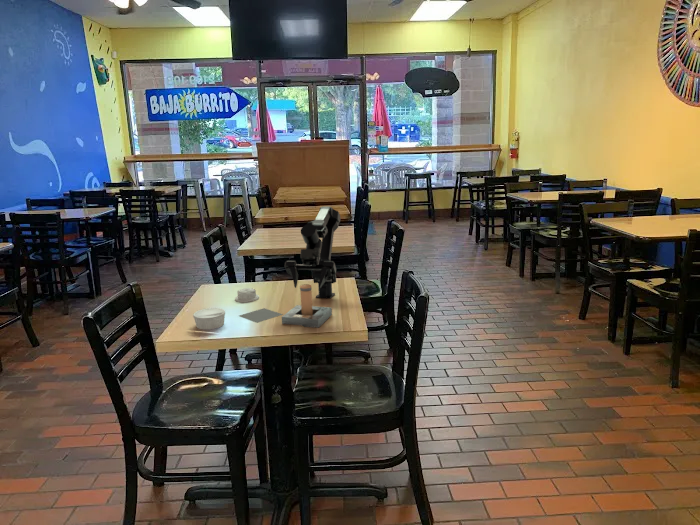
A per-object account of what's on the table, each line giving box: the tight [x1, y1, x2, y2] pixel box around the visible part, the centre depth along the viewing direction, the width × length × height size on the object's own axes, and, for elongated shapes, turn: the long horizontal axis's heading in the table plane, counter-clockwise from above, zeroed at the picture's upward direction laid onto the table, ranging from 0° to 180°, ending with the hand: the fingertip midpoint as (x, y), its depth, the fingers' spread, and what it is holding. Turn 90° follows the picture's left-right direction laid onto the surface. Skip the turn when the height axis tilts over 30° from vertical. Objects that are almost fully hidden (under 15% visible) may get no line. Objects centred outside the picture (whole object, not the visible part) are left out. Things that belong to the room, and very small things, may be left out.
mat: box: [238, 307, 284, 324], centre depth 201 cm, size 12×12×1 cm
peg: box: [299, 283, 313, 316], centre depth 194 cm, size 4×4×13 cm
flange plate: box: [281, 304, 333, 329], centre depth 195 cm, size 14×14×3 cm
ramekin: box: [192, 307, 226, 331], centre depth 191 cm, size 11×11×5 cm
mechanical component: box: [234, 287, 260, 303], centre depth 223 cm, size 10×4×10 cm
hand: (307, 287), depth 195 cm, fingers open, 9 cm apart
